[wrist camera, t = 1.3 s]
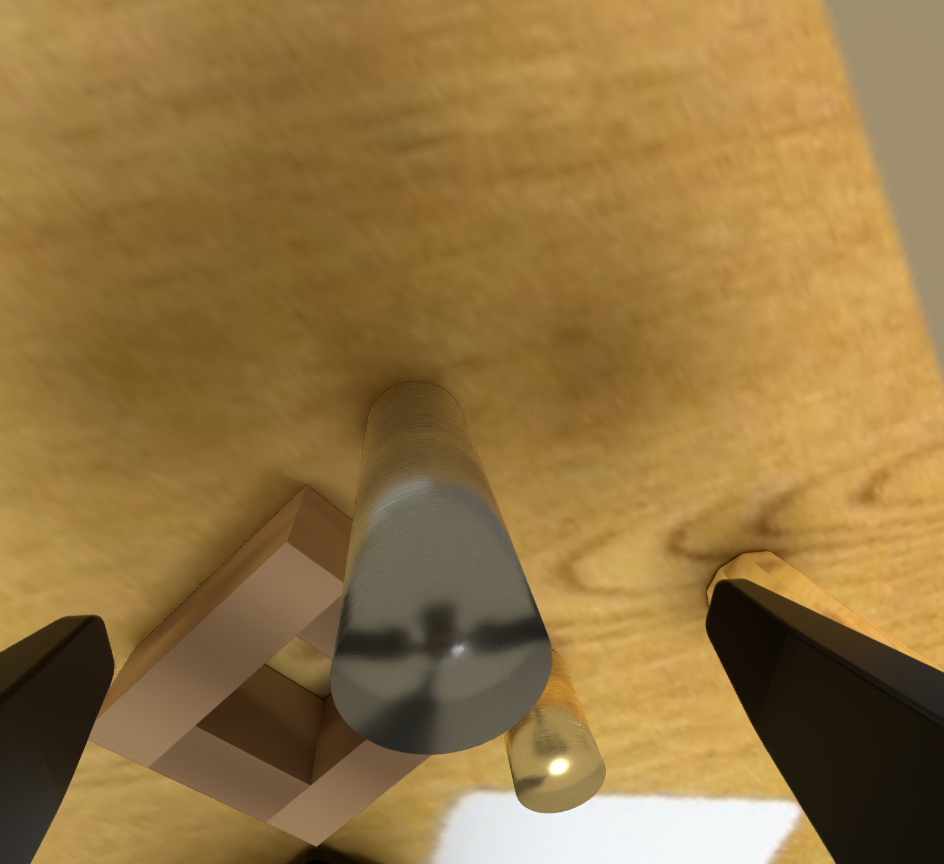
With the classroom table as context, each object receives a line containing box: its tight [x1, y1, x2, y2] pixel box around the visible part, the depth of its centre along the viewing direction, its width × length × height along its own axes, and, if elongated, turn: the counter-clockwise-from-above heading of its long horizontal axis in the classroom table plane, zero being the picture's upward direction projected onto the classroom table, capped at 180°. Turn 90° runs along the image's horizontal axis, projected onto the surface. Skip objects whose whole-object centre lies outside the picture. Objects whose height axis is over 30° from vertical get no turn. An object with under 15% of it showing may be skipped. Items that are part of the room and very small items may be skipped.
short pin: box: [503, 649, 606, 813], centre depth 17 cm, size 3×3×4 cm
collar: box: [88, 485, 431, 847], centre depth 15 cm, size 8×8×3 cm
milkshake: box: [707, 551, 944, 672], centre depth 14 cm, size 4×5×10 cm
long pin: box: [330, 381, 552, 755], centre depth 11 cm, size 3×3×9 cm
